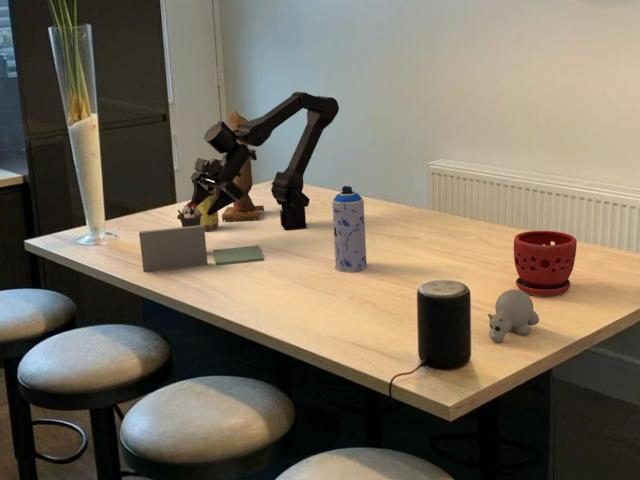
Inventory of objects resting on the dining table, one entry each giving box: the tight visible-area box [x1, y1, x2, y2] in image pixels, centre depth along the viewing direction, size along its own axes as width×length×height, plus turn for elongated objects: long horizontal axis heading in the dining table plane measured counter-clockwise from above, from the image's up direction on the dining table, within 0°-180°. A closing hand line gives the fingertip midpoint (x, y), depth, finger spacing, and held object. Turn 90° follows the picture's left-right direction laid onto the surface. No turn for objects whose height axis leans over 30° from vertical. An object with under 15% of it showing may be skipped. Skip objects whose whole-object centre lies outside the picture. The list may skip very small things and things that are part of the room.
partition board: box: [138, 225, 209, 272], centre depth 237 cm, size 16×2×10 cm, turn 99°
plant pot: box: [513, 230, 578, 297], centre depth 205 cm, size 13×13×12 cm
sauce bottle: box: [194, 159, 220, 232], centre depth 269 cm, size 6×6×20 cm
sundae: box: [176, 196, 203, 227], centre depth 248 cm, size 7×7×15 cm
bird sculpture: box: [221, 109, 265, 223], centre depth 278 cm, size 11×12×32 cm
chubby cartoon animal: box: [487, 289, 540, 343], centre depth 182 cm, size 7×12×8 cm, turn 130°
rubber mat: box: [212, 244, 264, 266], centre depth 244 cm, size 12×12×1 cm
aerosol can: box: [331, 185, 368, 273], centre depth 227 cm, size 8×8×20 cm
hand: (199, 211), depth 249 cm, fingers open, 9 cm apart
